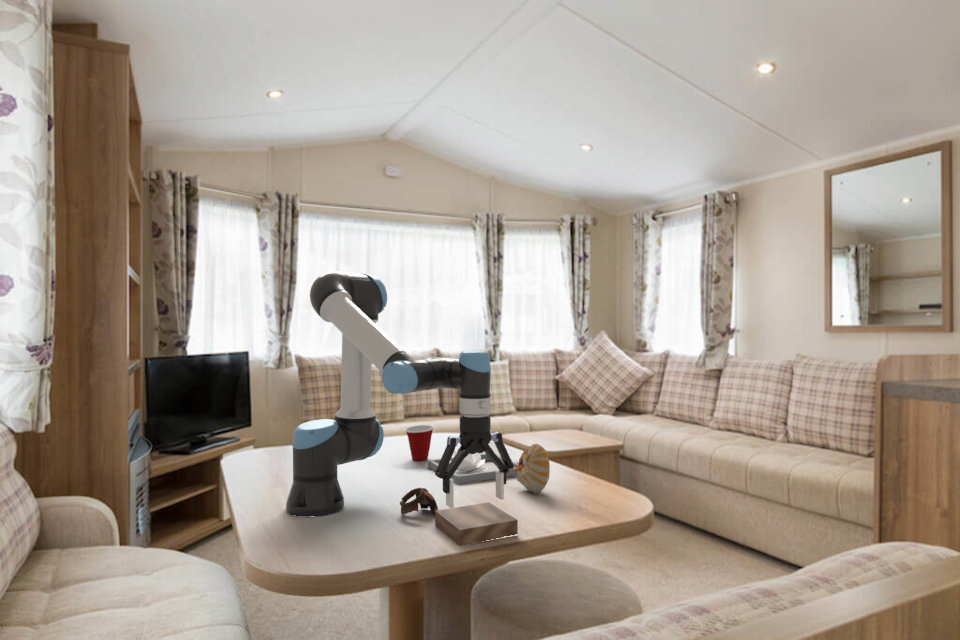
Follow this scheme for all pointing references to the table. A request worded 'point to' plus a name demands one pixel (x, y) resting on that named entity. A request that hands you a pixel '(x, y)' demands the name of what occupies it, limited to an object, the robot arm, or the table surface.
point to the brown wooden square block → (475, 523)
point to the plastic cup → (419, 441)
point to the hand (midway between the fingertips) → (475, 502)
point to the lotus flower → (471, 464)
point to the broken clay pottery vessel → (418, 501)
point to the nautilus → (533, 468)
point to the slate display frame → (475, 476)
